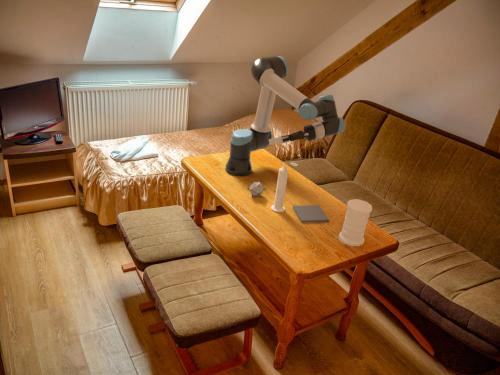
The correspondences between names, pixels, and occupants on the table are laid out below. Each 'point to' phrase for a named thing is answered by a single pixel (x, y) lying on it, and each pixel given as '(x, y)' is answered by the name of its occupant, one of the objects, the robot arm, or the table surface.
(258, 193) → the game die
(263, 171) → the table surface
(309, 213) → the slate tile
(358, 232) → the decorative container
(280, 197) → the candle
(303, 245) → the table surface
